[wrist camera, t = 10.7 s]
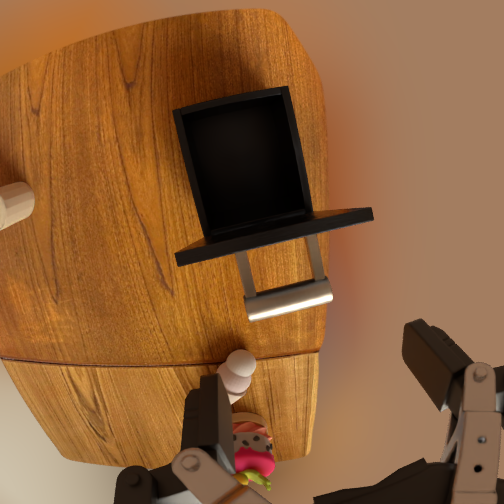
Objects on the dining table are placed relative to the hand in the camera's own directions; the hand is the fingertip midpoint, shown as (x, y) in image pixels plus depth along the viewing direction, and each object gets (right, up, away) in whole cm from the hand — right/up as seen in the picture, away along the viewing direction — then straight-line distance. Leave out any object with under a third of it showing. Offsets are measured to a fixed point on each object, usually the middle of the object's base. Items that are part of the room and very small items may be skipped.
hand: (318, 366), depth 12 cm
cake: (-5, -30, +42) cm, 52 cm away
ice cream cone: (-7, -16, +37) cm, 41 cm away
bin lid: (-2, +7, +12) cm, 14 cm away
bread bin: (-4, +16, +26) cm, 31 cm away
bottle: (-37, +12, +24) cm, 46 cm away
